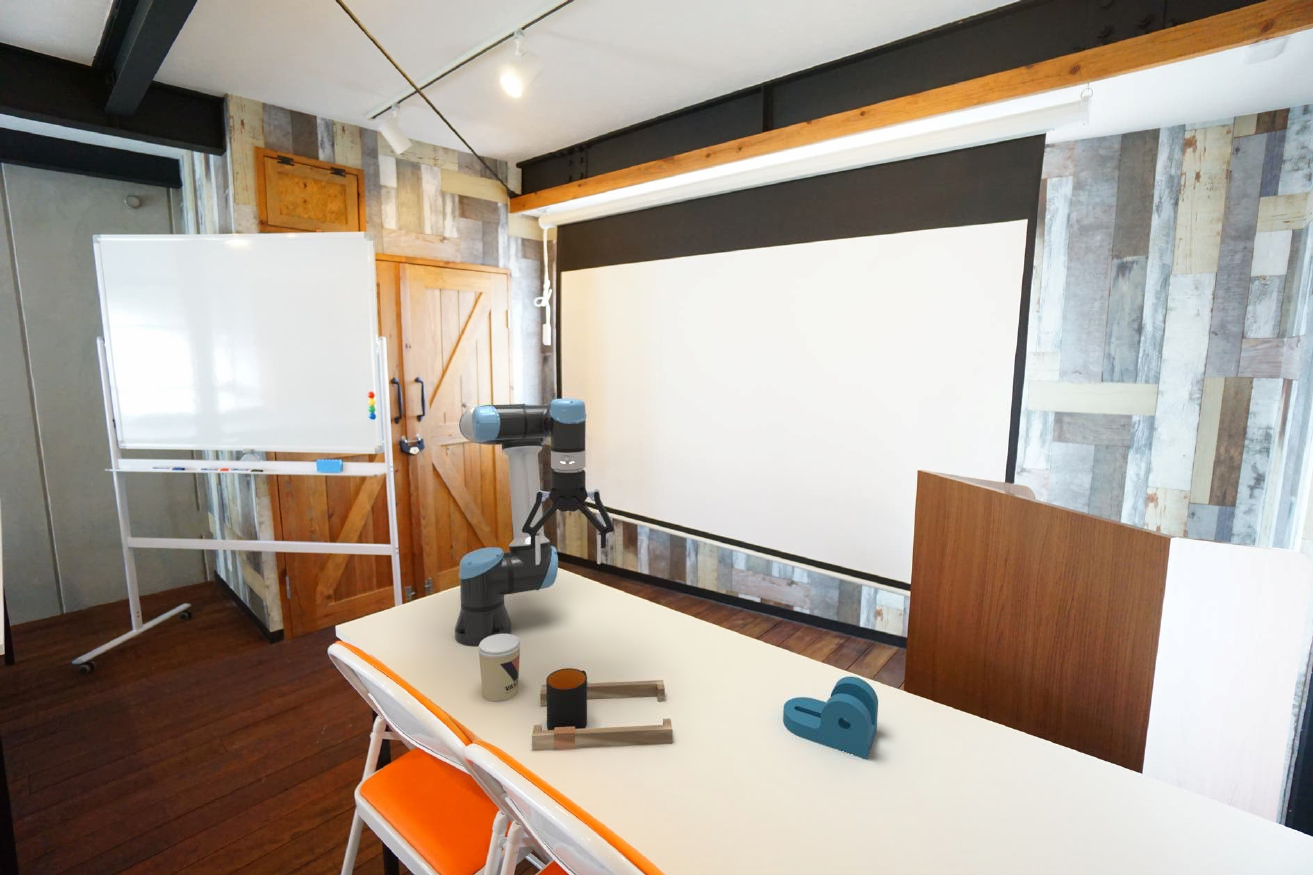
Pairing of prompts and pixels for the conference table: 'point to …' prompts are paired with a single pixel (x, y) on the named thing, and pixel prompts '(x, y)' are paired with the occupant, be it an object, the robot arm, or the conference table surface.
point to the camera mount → (837, 717)
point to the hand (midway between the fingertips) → (568, 562)
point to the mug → (567, 699)
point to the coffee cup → (499, 666)
